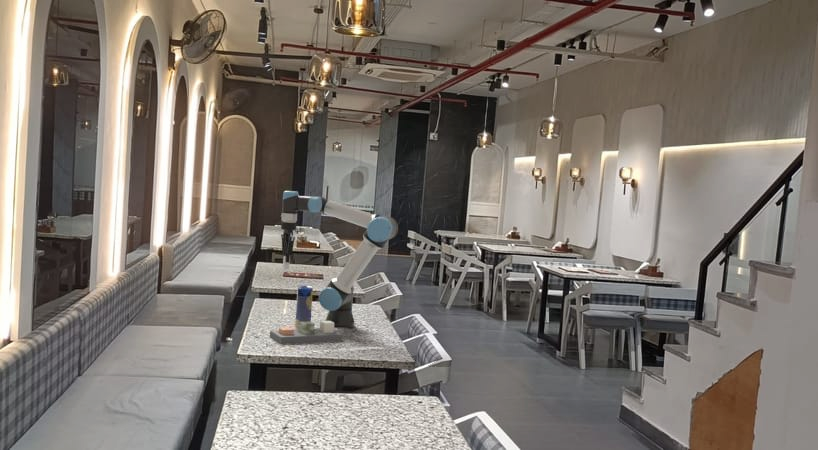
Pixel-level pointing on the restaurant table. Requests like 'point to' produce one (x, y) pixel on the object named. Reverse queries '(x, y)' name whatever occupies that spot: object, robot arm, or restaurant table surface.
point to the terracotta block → (286, 331)
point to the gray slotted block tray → (305, 337)
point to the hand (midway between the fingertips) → (285, 268)
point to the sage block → (307, 327)
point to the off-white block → (326, 326)
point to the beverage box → (303, 305)
